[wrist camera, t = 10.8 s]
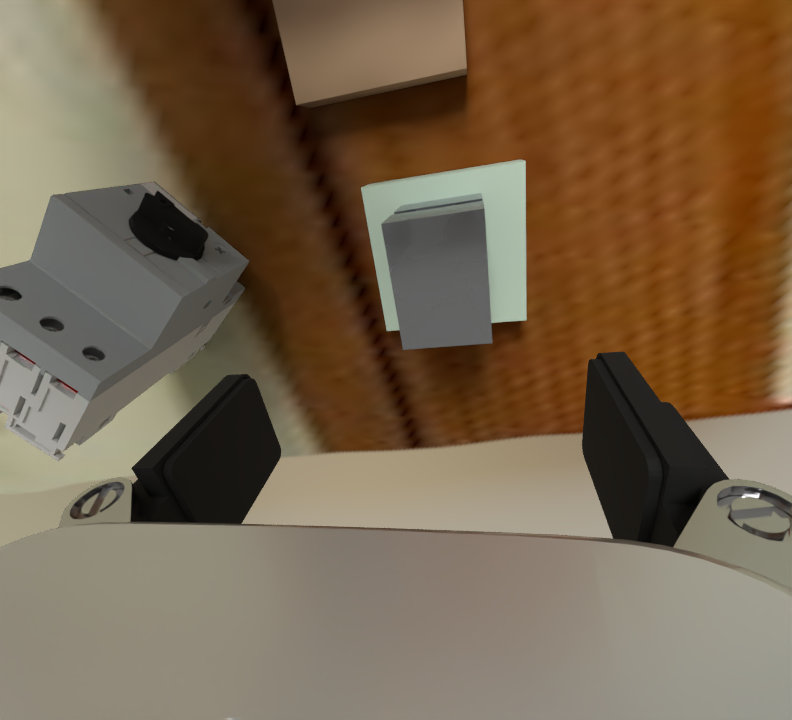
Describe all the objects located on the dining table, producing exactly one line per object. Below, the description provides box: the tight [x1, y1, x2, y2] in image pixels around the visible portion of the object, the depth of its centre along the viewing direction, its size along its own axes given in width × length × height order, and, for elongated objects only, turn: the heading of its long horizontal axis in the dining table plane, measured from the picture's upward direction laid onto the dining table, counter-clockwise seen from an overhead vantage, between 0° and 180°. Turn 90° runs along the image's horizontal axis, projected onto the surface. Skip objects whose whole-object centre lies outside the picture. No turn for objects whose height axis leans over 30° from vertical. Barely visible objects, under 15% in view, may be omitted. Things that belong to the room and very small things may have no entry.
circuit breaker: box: [0, 182, 249, 461], centre depth 26 cm, size 8×14×15 cm, turn 139°
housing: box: [381, 193, 492, 350], centre depth 24 cm, size 7×5×7 cm
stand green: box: [361, 160, 526, 331], centre depth 27 cm, size 10×10×2 cm
